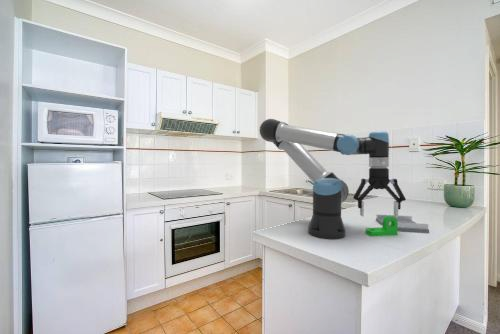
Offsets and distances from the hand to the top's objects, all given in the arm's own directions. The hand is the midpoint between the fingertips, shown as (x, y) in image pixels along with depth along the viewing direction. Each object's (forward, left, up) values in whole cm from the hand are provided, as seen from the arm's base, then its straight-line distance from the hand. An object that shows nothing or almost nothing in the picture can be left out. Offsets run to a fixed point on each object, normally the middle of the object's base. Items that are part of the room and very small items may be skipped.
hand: (378, 216), depth 103 cm
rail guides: (+14, +13, -6) cm, 20 cm away
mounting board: (+14, +13, -7) cm, 20 cm away
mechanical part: (0, -1, -8) cm, 8 cm away
